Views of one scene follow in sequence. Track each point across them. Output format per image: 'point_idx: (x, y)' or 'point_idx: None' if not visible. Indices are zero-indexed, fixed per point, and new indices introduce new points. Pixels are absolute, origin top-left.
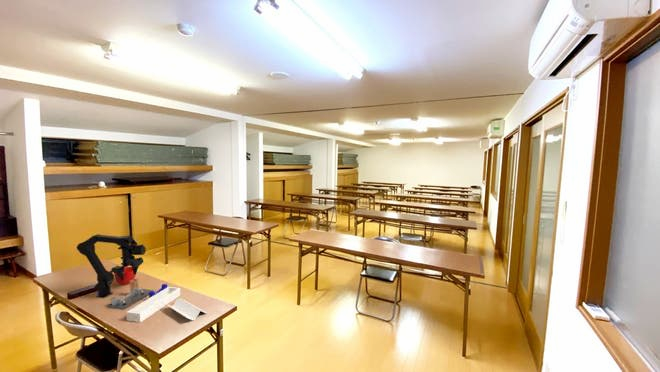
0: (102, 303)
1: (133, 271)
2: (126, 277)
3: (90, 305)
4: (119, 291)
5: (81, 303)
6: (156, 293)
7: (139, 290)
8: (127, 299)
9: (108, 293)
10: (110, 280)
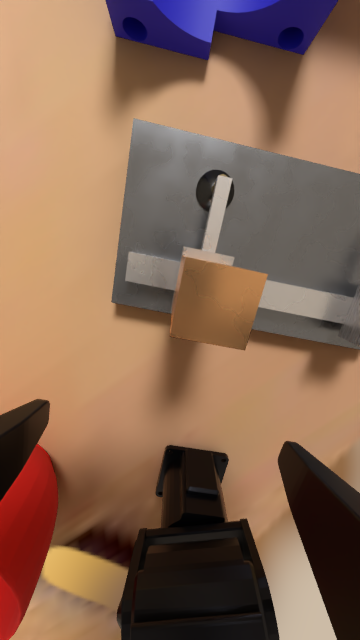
0: (294, 414)
1: (5, 487)
2: (15, 496)
3: None
4: (137, 425)
5: (278, 513)
6: (198, 29)
7: (222, 211)
8: (303, 265)
9: (203, 459)
10: (202, 573)
